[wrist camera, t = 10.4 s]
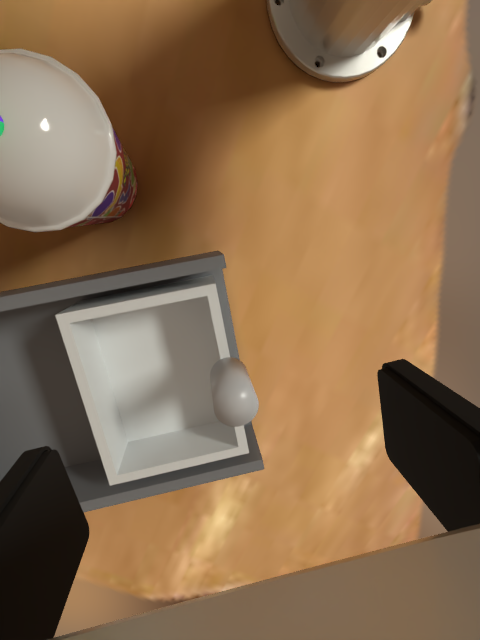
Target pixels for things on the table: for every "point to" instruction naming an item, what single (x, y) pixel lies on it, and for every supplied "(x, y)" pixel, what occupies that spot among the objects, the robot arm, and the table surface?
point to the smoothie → (57, 149)
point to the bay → (62, 390)
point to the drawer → (158, 378)
